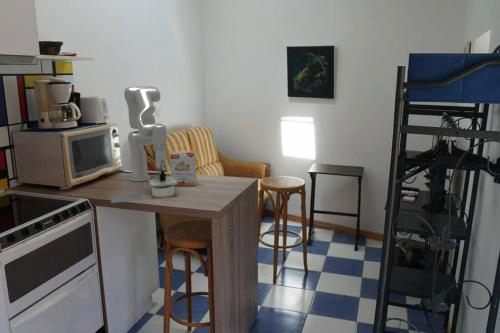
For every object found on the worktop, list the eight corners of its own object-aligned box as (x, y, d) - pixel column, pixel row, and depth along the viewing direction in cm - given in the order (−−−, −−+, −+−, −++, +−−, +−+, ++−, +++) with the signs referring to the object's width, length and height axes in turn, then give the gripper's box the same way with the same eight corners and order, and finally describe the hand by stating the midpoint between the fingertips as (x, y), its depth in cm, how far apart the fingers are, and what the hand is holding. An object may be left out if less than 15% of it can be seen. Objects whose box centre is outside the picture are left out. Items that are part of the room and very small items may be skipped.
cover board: (148, 181, 236) (147, 169, 235) (173, 178, 241) (172, 167, 239) (151, 186, 223) (150, 174, 222) (177, 184, 228) (176, 171, 226)
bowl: (151, 192, 237) (150, 184, 236) (172, 190, 241) (171, 182, 240) (153, 198, 226) (153, 189, 225) (175, 196, 230) (175, 187, 229)
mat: (110, 196, 231) (110, 196, 231) (140, 193, 236) (140, 193, 236) (111, 203, 218) (111, 203, 218) (142, 200, 223) (142, 199, 223)
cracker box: (171, 186, 251) (169, 152, 247) (174, 183, 257) (172, 150, 252) (194, 186, 250) (192, 152, 245) (196, 184, 255) (195, 150, 251)
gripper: (151, 145, 234) (153, 177, 238) (155, 150, 219) (157, 183, 223) (165, 144, 237) (167, 176, 241) (169, 149, 221) (171, 182, 225)
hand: (162, 179), depth 232 cm, fingers closed on cover board, 3 cm apart
